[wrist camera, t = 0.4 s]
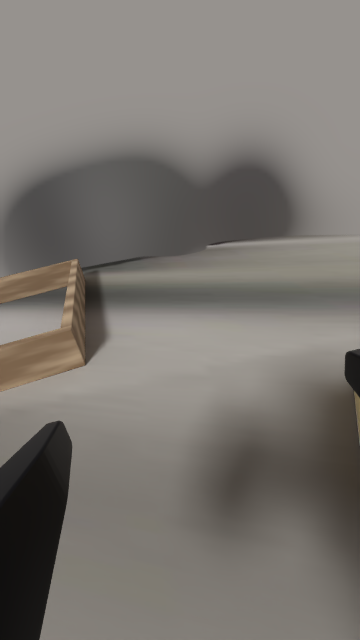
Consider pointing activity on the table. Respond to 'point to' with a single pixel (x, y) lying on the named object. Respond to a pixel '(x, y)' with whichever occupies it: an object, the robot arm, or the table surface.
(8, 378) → the frame
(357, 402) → the bay
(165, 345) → the table surface
